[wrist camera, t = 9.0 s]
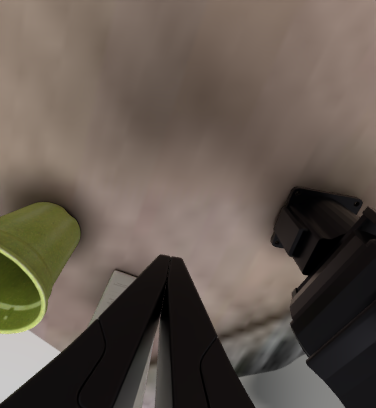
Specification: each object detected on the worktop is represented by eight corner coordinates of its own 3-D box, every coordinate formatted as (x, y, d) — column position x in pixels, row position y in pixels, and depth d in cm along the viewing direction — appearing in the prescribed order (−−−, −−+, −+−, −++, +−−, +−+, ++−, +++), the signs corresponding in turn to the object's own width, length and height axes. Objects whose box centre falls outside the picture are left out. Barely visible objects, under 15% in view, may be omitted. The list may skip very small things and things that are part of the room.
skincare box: (115, 267, 25) (11, 474, 11) (168, 286, 26) (132, 501, 12) (97, 311, 29) (0, 513, 15) (144, 327, 30) (95, 532, 16)
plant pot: (19, 257, 25) (-61, 327, 18) (-4, 180, 21) (-121, 227, 14) (99, 265, 25) (55, 339, 18) (91, 190, 21) (29, 242, 14)
